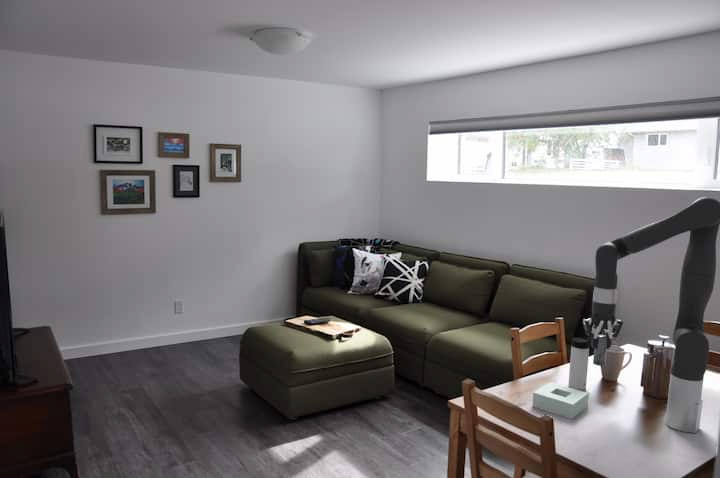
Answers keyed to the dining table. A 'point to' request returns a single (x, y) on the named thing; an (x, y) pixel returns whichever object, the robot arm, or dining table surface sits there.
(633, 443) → the dining table surface
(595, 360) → the pin
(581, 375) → the travel mug
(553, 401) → the socket block
